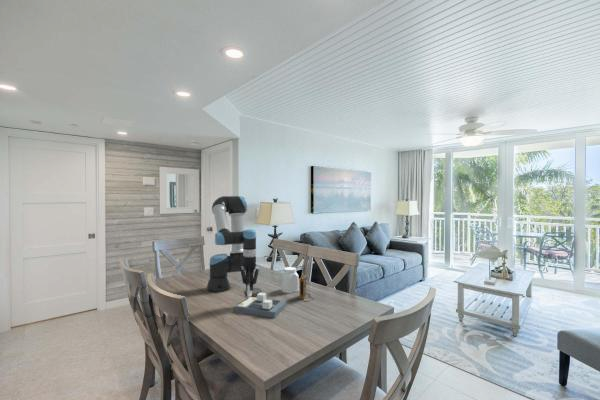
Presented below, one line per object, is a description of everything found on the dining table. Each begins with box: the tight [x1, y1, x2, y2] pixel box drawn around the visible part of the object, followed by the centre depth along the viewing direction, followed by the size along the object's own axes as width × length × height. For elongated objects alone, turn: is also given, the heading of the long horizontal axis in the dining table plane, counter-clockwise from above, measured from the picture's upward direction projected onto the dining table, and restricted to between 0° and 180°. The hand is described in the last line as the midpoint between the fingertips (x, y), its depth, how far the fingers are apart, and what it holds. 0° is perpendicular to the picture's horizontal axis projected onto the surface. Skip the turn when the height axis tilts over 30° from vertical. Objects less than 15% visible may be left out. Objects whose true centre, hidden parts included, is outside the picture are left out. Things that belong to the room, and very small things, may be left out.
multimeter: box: [299, 264, 315, 303], centre depth 175 cm, size 15×10×20 cm
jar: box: [281, 266, 300, 294], centre depth 189 cm, size 12×10×15 cm
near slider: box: [262, 298, 273, 309], centre depth 151 cm, size 4×4×4 cm
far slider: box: [256, 292, 267, 301], centre depth 162 cm, size 4×4×4 cm
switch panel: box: [234, 296, 287, 319], centre depth 157 cm, size 24×16×3 cm, turn 71°
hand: (249, 295), depth 165 cm, fingers closed
